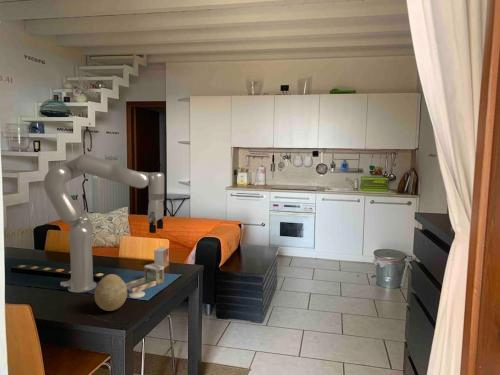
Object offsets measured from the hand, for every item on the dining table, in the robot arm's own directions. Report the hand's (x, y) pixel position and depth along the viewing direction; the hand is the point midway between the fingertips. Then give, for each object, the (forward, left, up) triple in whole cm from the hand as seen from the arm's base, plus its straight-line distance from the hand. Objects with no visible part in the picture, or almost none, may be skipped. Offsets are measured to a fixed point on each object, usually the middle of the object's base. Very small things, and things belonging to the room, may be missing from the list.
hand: (156, 230), depth 182 cm
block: (-1, -1, -26) cm, 26 cm away
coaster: (-12, -15, -26) cm, 32 cm away
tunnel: (-8, -4, -26) cm, 27 cm away
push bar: (-10, -5, -26) cm, 28 cm away
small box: (+8, +21, -26) cm, 35 cm away
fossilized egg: (-25, -26, -26) cm, 44 cm away
